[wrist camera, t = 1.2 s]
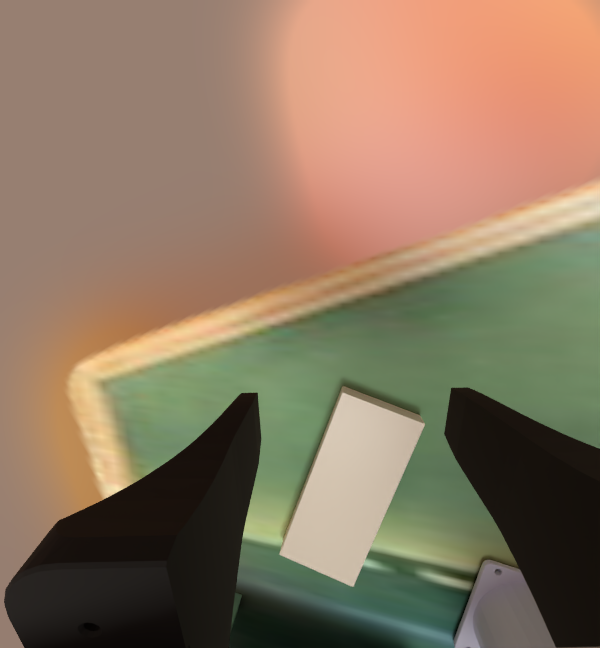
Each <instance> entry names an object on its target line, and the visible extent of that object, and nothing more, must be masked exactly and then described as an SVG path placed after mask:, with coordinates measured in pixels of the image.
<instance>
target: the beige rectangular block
mask: <svg viewBox="0 0 600 648" xmlns="http://www.w3.org/2000/svg"><path fill="white" fill-rule="evenodd" d="M424 426H425V423H424V421H423V420H422V418H421V416H420V415H418V414H415V413H413V412H410V411H407V410H405V409H402V408H400V407H397V406H394V405H392V404H389V403H387V402H384V401H381V400H379V399H376V398H373V397H371V396H368V395H366V394H363V393H360V392H358V391H355V390H353V389H350V388H347V387H345V386H342V388H341V391H340V394H339V396H338V399H337V401H336V404H335V407H334V409H333V412H332V414H331V417H330V419H329V422H328V425H327V427H326V430H325V432H324V435H323V438H322V440H321V443H320V445H319V448H318V450H317V453H316V456H315V458H314V461H313V463H312V466H311V469H310V471H309V474H308V476H307V479H306V481H305V484H304V487H303V489H302V492H301V494H300V497H299V500H298V502H297V505H296V507H295V510H294V513H293V515H292V518H291V520H290V523H289V525H288V528H287V531H286V533H285V536H284V538H283V542H282V546H281V550H280V554H279V555H282V556H284V557H286V558H288V559H291V560H293V561H295V562H297V563H300V564H302V565H304V566H307V567H309V568H311V569H313V570H316V571H318V572H320V573H322V574H325V575H327V576H329V577H331V578H334V579H336V580H338V581H341V582H343V583H345V584H347V585H350V586H352V587H353V586H354V584H355V581H356V579H357V577H358V575H359V572H360V570H361V568H362V566H363V563H364V561H365V559H366V557H367V554H368V552H369V550H370V548H371V545H372V543H373V541H374V539H375V536H376V534H377V532H378V529H379V527H380V525H381V523H382V520H383V518H384V516H385V514H386V511H387V509H388V507H389V505H390V502H391V500H392V498H393V496H394V493H395V491H396V489H397V487H398V484H399V482H400V480H401V478H402V475H403V473H404V471H405V468H406V466H407V464H408V462H409V459H410V457H411V455H412V453H413V450H414V448H415V446H416V444H417V441H418V439H419V437H420V435H421V432H422V430H423V428H424Z"/></svg>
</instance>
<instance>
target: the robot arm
mask: <svg viewBox="0 0 600 648" xmlns="http://www.w3.org/2000/svg"><path fill="white" fill-rule="evenodd" d="M444 434H445V436H446V439H447V441H448V443H449V446H450V448H451V450H452V452H453V454H454V456H455V458H456V460H457V462H458V463H459V465H460V467H461V468H462V470H463V472H464V473H465V475H466V476H467V478H468V480H469V481H470V483H471V484H472V486H473V487H474V489H475V491H476V492H477V494H478V495H479V497H480V498H481V500H482V502H483V503H484V505H485V506H486V508H487V509H488V511H489V513H490V514H491V516H492V517H493V519H494V521H495V523H496V524H497V526H498V528H499V529H500V531H501V533H502V535H503V537H504V539H505V541H506V543H507V545H508V547H509V549H510V551H511V553H512V554H513V556H514V558H515V560H516V562H517V564H518V566H519V569H517V568H514V567H511V566H508V565H505V564H502V563H499V562H496V561H492V560H485V561H484V562H483V563H482V566H481V568H480V571H479V574H478V576H477V579H476V582H475V585H474V587H473V590H472V593H471V595H470V598H469V601H468V603H467V606H466V609H465V611H464V614H463V617H462V619H461V622H460V625H459V628H458V630H457V633H456V636H455V638H454V646H455V648H600V449H598V448H596V447H593V446H591V445H588V444H586V443H583V442H581V441H578V440H576V439H574V438H571V437H569V436H567V435H564V434H562V433H560V432H558V431H556V430H553V429H551V428H549V427H547V426H545V425H543V424H541V423H539V422H536V421H534V420H532V419H530V418H528V417H526V416H524V415H522V414H520V413H518V412H517V411H515V410H513V409H511V408H509V407H507V406H505V405H503V404H501V403H499V402H497V401H495V400H493V399H491V398H489V397H487V396H485V395H483V394H481V393H479V392H477V391H475V390H473V389H470V388H451V394H450V400H449V407H448V413H447V420H446V427H445V433H444ZM260 445H261V430H260V417H259V405H258V393H241V394H240V395H239V396H238V397H237V398H236V399H235V400H234V401H233V402H232V404H231V405H230V406H229V407H228V408H227V409H226V410H225V411H224V412H223V413H222V415H221V416H220V417H219V418H218V419H217V420H216V421H215V422H214V423H213V424H212V425H211V426H210V427H209V428H208V429H207V430H206V431H205V432H204V433H202V434H201V435H200V436H199V437H198V438H197V439H196V440H195V441H194V442H192V443H191V444H190V445H189V446H188V447H186V448H185V449H184V450H183V451H181V452H180V453H179V454H177V455H176V456H175V457H173V458H172V459H171V460H169V461H168V462H166V463H165V464H163V465H162V466H160V467H159V468H157V469H156V470H154V471H153V472H151V473H150V474H148V475H147V476H145V477H144V478H142V479H140V480H139V481H137V482H135V483H133V484H132V485H130V486H128V487H127V488H125V489H123V490H121V491H119V492H117V493H115V494H114V495H112V496H110V497H108V498H106V499H104V500H102V501H100V502H98V503H96V504H94V505H92V506H89V507H87V508H85V509H84V510H81V511H79V512H77V513H74V514H72V515H70V516H68V517H66V518H63V519H61V520H59V521H58V522H57V523H56V524H55V525H54V527H53V528H52V529H51V530H50V531H49V533H48V534H47V535H46V537H45V538H44V539H43V540H42V541H41V543H40V544H39V545H38V547H37V548H36V549H35V550H34V552H33V553H32V555H31V556H30V557H29V558H28V560H27V561H26V562H25V563H24V565H23V566H22V567H21V568H20V570H19V571H18V572H17V574H16V575H15V576H14V577H13V579H12V580H11V582H10V583H9V585H8V587H7V588H6V591H5V599H4V603H5V608H6V611H7V614H8V617H9V619H10V621H11V623H12V625H13V627H14V629H15V631H16V632H17V634H18V636H19V638H20V640H21V642H22V644H23V646H24V648H229V641H230V633H231V624H232V615H233V606H234V598H235V590H236V582H237V574H238V566H239V559H240V551H241V544H242V537H243V531H244V526H245V521H246V517H247V512H248V508H249V504H250V499H251V495H252V490H253V486H254V482H255V477H256V473H257V468H258V464H259V455H260ZM496 569H499V570H497V571H495V570H496Z"/></svg>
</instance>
